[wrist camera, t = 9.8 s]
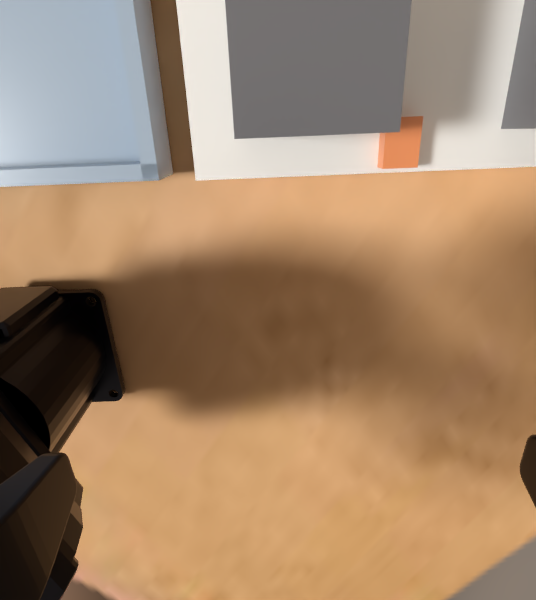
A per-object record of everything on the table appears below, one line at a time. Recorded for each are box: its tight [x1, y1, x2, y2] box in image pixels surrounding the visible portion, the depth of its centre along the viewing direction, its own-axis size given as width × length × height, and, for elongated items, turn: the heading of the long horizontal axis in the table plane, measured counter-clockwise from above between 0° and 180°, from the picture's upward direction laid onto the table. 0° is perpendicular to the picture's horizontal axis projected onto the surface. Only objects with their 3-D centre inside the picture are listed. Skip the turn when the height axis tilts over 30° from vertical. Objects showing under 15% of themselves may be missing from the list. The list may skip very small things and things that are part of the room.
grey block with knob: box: [225, 0, 412, 139], centre depth 12 cm, size 6×4×6 cm
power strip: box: [176, 0, 536, 180], centre depth 12 cm, size 9×16×6 cm, turn 92°
